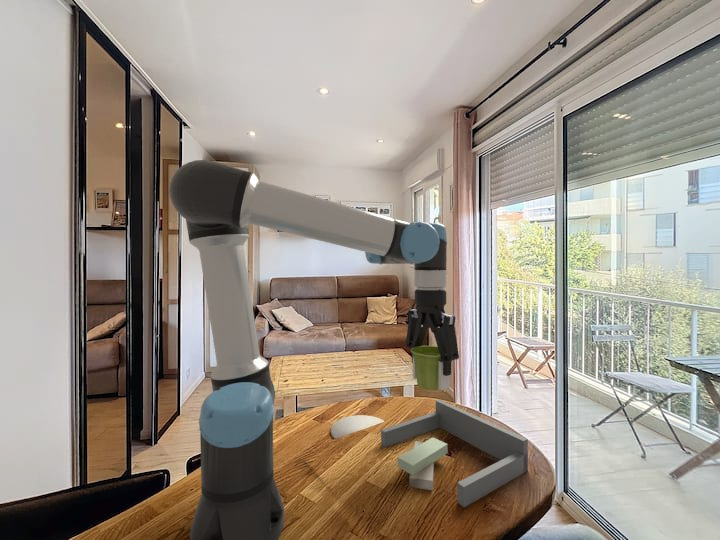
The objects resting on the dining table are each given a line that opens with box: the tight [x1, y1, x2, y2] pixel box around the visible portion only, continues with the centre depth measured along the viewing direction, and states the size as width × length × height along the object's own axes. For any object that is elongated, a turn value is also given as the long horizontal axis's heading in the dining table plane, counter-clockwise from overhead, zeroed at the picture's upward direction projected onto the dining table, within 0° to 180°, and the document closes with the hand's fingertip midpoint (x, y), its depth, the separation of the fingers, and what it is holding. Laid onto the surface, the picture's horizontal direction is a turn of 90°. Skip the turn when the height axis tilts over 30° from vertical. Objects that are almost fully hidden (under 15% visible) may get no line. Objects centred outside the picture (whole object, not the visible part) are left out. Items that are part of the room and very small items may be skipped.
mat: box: [330, 414, 385, 440], centre depth 92 cm, size 16×16×1 cm
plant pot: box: [410, 345, 447, 391], centre depth 80 cm, size 9×9×9 cm
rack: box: [380, 399, 529, 508], centre depth 77 cm, size 20×26×8 cm
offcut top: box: [397, 437, 449, 475], centre depth 72 cm, size 4×12×2 cm, turn 131°
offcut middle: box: [408, 441, 435, 491], centre depth 73 cm, size 4×14×2 cm, turn 166°
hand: (430, 382), depth 80 cm, fingers closed on plant pot, 8 cm apart
